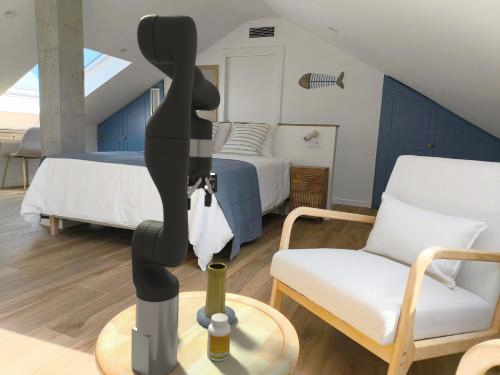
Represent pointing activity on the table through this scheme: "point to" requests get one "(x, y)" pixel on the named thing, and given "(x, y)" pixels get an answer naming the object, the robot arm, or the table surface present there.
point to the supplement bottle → (218, 338)
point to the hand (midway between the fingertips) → (197, 208)
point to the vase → (215, 289)
